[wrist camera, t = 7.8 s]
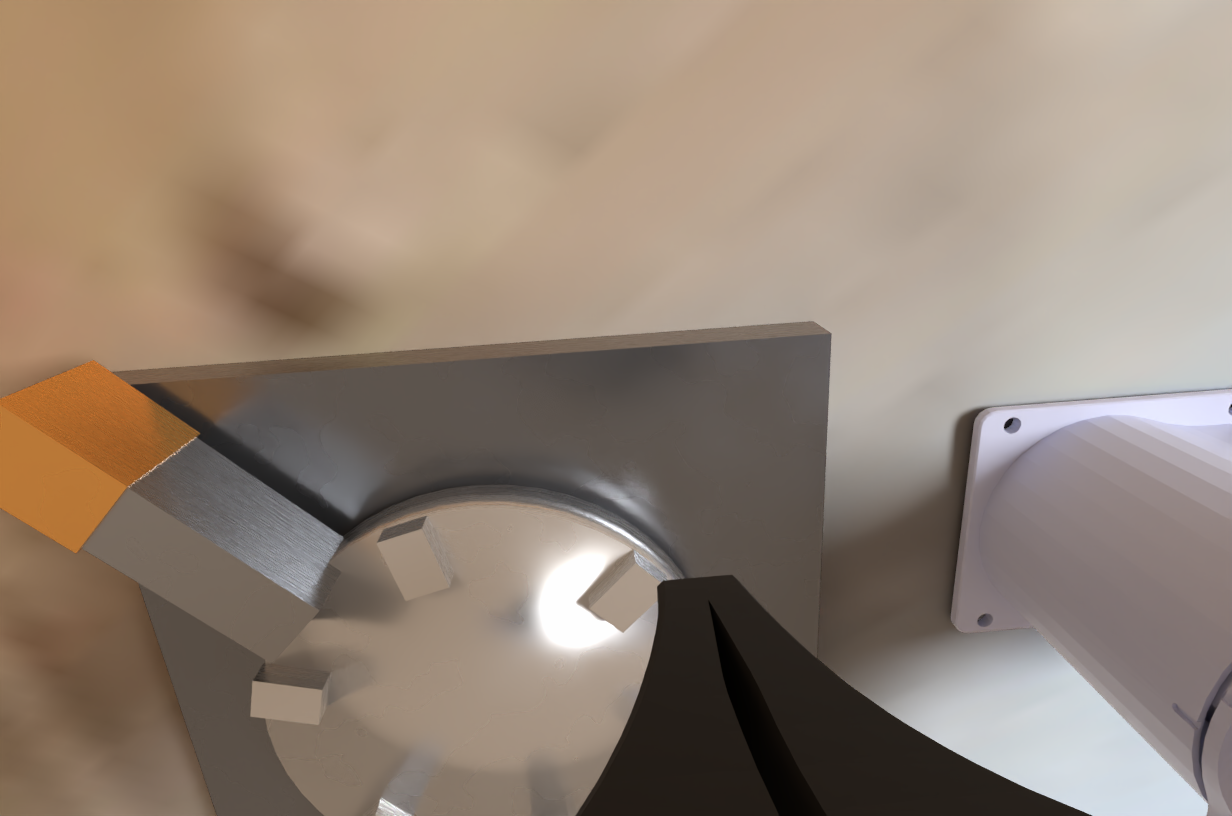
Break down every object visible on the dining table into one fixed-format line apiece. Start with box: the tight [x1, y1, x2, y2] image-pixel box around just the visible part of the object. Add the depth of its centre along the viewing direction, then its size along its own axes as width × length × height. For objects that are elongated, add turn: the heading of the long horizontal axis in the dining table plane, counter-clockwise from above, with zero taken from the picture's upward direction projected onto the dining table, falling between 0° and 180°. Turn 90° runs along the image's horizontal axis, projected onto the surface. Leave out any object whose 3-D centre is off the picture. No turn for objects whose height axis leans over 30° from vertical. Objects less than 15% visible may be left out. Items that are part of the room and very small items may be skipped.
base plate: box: [112, 321, 831, 816], centre depth 23 cm, size 20×20×2 cm
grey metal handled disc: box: [0, 360, 685, 816], centre depth 19 cm, size 13×20×3 cm, turn 48°
